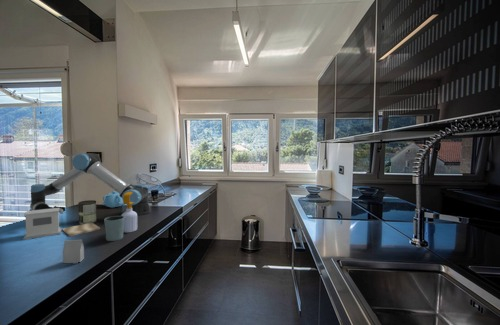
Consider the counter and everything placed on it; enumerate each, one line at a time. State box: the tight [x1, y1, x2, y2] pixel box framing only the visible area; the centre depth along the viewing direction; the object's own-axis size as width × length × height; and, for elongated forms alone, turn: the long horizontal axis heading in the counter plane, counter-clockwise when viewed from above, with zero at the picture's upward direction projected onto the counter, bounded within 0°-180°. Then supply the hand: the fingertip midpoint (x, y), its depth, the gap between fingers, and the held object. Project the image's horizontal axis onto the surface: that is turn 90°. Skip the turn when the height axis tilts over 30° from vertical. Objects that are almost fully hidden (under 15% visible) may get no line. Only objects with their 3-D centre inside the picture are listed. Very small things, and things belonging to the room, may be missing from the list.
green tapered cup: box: [103, 215, 124, 242], centre depth 133 cm, size 10×10×12 cm
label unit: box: [23, 207, 62, 241], centre depth 137 cm, size 16×10×14 cm, turn 127°
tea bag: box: [62, 239, 85, 264], centre depth 105 cm, size 4×7×10 cm, turn 105°
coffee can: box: [78, 199, 97, 225], centre depth 163 cm, size 10×10×14 cm
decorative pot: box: [102, 190, 125, 209], centre depth 206 cm, size 16×16×14 cm
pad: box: [61, 222, 101, 237], centre depth 146 cm, size 16×16×1 cm
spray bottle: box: [120, 192, 138, 233], centre depth 146 cm, size 9×9×25 cm
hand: (49, 214), depth 147 cm, fingers open, 13 cm apart
